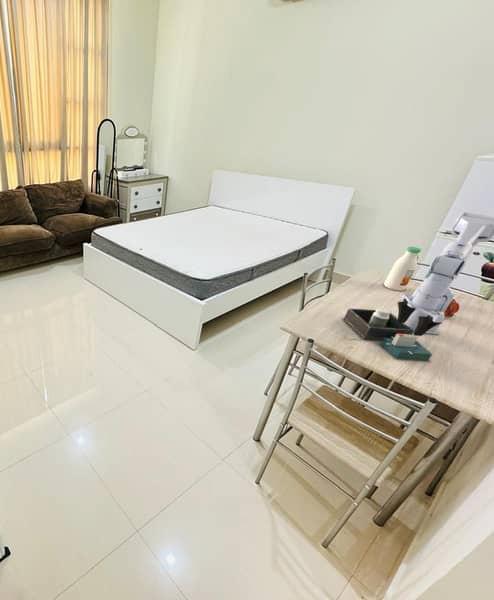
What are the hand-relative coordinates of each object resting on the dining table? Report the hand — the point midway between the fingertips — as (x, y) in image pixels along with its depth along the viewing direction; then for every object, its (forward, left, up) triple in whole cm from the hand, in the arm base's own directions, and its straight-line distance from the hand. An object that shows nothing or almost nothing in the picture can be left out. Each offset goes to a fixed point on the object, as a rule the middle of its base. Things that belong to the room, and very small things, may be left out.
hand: (408, 328), depth 107 cm
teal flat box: (-2, +1, -9) cm, 10 cm away
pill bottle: (0, -12, -9) cm, 15 cm away
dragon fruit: (-35, -28, -10) cm, 46 cm away
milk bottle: (-33, -52, -10) cm, 63 cm away
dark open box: (0, -12, -9) cm, 15 cm away
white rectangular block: (0, +1, -6) cm, 6 cm away
